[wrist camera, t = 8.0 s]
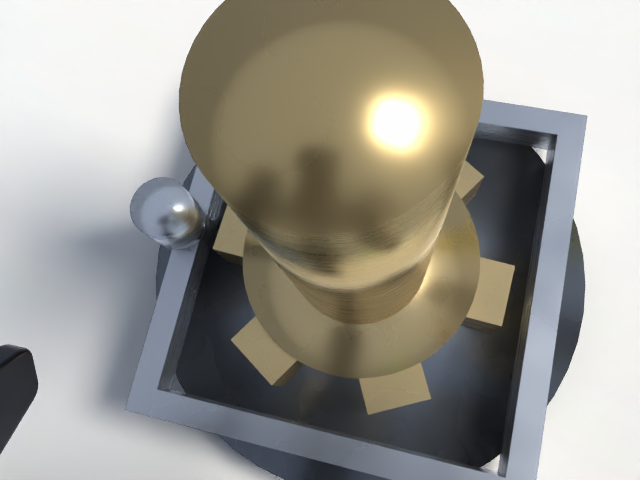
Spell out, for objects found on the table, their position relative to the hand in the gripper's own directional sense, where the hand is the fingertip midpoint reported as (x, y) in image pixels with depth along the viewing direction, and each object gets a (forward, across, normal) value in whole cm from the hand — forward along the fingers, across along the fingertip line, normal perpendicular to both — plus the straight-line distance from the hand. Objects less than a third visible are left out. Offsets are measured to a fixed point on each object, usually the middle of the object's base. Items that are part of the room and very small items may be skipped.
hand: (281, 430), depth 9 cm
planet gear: (+10, 0, +3) cm, 10 cm away
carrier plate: (+10, 0, +4) cm, 11 cm away
